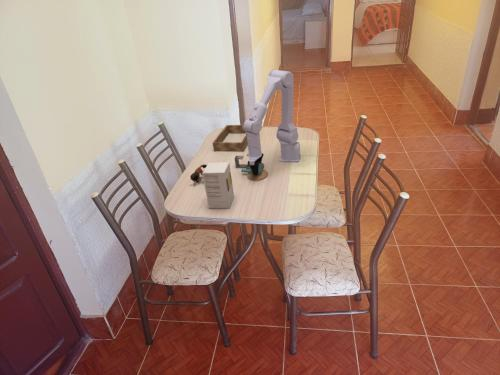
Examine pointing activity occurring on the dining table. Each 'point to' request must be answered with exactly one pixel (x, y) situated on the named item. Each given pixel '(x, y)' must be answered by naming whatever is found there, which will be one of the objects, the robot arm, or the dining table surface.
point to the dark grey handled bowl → (243, 164)
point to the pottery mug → (197, 173)
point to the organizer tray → (230, 146)
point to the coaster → (258, 176)
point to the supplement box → (218, 185)
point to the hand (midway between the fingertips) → (257, 171)
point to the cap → (251, 170)
